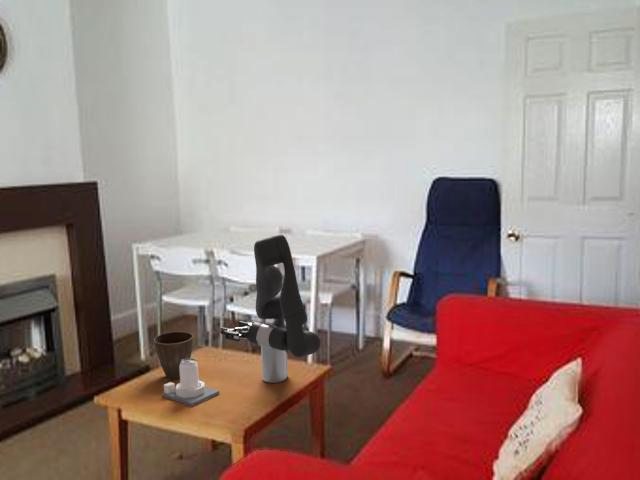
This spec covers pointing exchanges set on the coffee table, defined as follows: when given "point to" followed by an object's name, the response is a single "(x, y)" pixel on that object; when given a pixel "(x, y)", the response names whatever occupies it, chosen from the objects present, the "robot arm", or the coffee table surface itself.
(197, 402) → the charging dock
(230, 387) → the coffee table surface
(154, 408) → the coffee table surface
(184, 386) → the can
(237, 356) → the coffee table surface
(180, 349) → the plant pot
